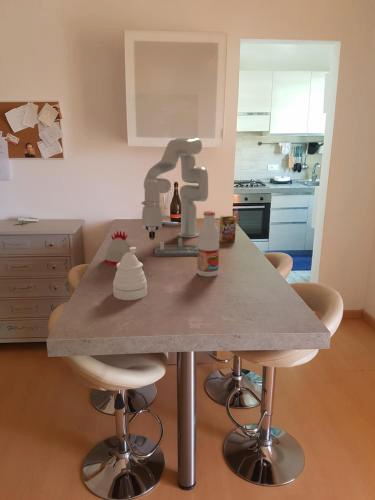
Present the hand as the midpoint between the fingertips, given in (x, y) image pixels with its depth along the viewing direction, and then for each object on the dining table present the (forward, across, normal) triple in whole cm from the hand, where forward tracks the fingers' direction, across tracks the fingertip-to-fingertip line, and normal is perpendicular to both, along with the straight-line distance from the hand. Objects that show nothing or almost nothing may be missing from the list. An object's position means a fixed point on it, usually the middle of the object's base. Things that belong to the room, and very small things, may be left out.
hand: (152, 239), depth 202 cm
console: (+8, +13, +3) cm, 16 cm away
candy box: (+7, +44, +25) cm, 51 cm away
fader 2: (+6, +15, +8) cm, 18 cm away
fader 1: (+6, +5, +1) cm, 8 cm away
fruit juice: (+8, +25, -33) cm, 43 cm away
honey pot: (+9, -8, -55) cm, 57 cm away
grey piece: (+8, -16, -12) cm, 22 cm away
